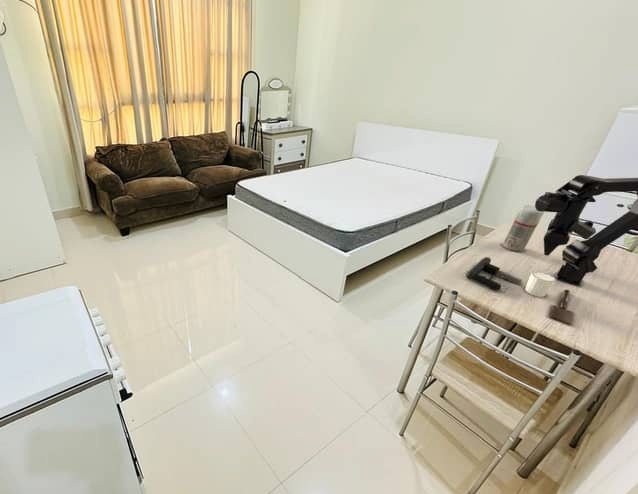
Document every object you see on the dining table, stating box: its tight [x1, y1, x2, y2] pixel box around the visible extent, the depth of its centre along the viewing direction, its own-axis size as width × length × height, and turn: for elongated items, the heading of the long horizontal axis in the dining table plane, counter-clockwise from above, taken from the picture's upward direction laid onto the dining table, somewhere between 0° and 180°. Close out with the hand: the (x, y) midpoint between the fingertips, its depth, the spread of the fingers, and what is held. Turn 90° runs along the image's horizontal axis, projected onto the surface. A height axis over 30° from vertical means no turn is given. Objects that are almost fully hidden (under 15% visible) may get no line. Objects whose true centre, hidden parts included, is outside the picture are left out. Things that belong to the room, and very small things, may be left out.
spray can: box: [502, 204, 545, 252], centre depth 141 cm, size 8×8×20 cm
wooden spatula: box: [549, 289, 574, 326], centre depth 110 cm, size 5×22×2 cm, turn 134°
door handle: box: [464, 256, 523, 291], centre depth 124 cm, size 3×20×16 cm
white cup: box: [524, 270, 557, 298], centre depth 115 cm, size 7×7×7 cm
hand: (547, 250), depth 119 cm, fingers open, 9 cm apart
